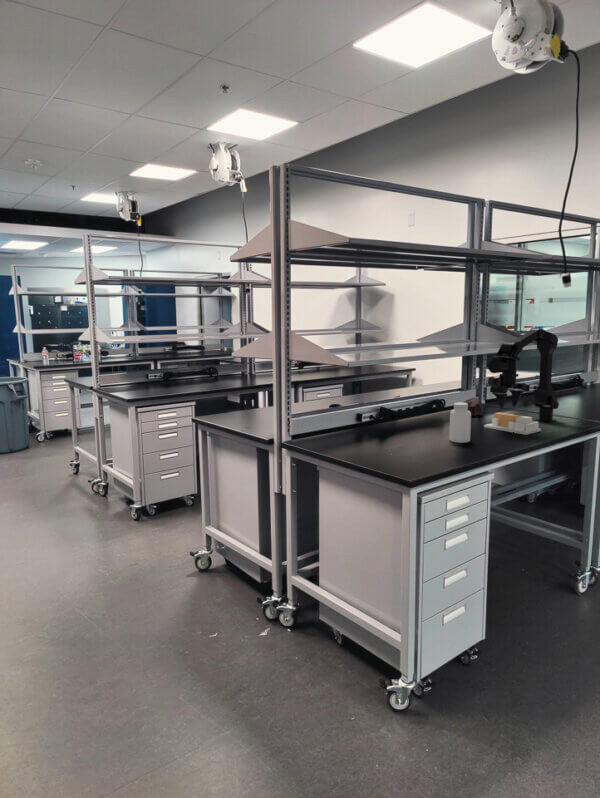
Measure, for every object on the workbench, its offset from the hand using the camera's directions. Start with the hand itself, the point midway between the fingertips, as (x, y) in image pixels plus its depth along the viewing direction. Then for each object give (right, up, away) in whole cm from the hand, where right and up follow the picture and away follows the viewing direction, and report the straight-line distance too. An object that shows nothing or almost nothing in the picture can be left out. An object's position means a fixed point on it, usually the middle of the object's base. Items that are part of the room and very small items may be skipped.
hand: (507, 407), depth 232 cm
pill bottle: (-26, -13, -19) cm, 35 cm away
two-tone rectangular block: (+2, -8, 0) cm, 8 cm away
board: (+2, -9, 0) cm, 9 cm away
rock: (-6, -5, +32) cm, 32 cm away
